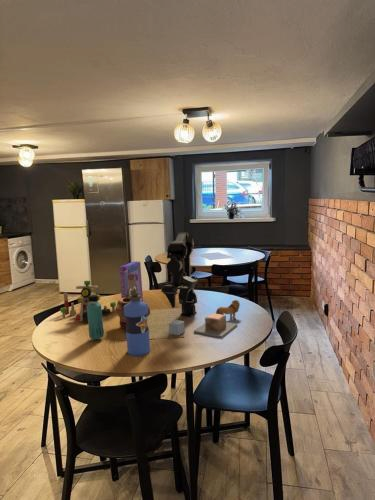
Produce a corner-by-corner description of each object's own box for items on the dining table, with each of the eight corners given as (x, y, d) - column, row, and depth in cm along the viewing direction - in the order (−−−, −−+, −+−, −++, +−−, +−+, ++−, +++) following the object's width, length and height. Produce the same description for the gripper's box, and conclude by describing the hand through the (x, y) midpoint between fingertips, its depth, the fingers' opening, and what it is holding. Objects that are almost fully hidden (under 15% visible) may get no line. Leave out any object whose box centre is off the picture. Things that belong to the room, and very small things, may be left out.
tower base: (193, 332, 153) (193, 319, 152) (210, 321, 166) (210, 309, 166) (221, 338, 146) (221, 324, 145) (237, 325, 159) (236, 312, 158)
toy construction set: (50, 321, 178) (46, 283, 176) (76, 308, 200) (73, 274, 197) (95, 325, 170) (91, 284, 167) (117, 311, 191) (114, 274, 189)
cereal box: (129, 308, 195) (126, 266, 191) (122, 307, 196) (119, 266, 193) (142, 299, 211) (140, 261, 208) (135, 299, 212) (133, 261, 209)
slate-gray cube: (169, 333, 154) (168, 323, 153) (175, 330, 158) (175, 319, 157) (178, 335, 151) (178, 324, 150) (184, 331, 155) (184, 321, 154)
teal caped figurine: (96, 343, 146) (92, 298, 144) (86, 340, 150) (81, 296, 147) (107, 338, 152) (104, 294, 149) (97, 335, 155) (93, 293, 153)
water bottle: (122, 353, 135) (117, 292, 132) (138, 344, 143) (133, 286, 140) (139, 358, 130) (135, 294, 127) (155, 349, 138) (151, 288, 134)
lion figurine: (236, 315, 174) (236, 298, 173) (242, 318, 169) (242, 300, 168) (211, 320, 168) (210, 303, 166) (217, 323, 163) (216, 305, 162)
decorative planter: (158, 324, 165) (156, 297, 164) (145, 334, 154) (143, 304, 153) (123, 320, 174) (121, 294, 172) (109, 329, 163) (106, 301, 161)
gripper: (182, 273, 139) (183, 311, 140) (203, 268, 155) (205, 302, 156) (159, 272, 145) (161, 309, 146) (183, 268, 161) (184, 300, 162)
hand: (179, 305), depth 152 cm, fingers open, 9 cm apart
